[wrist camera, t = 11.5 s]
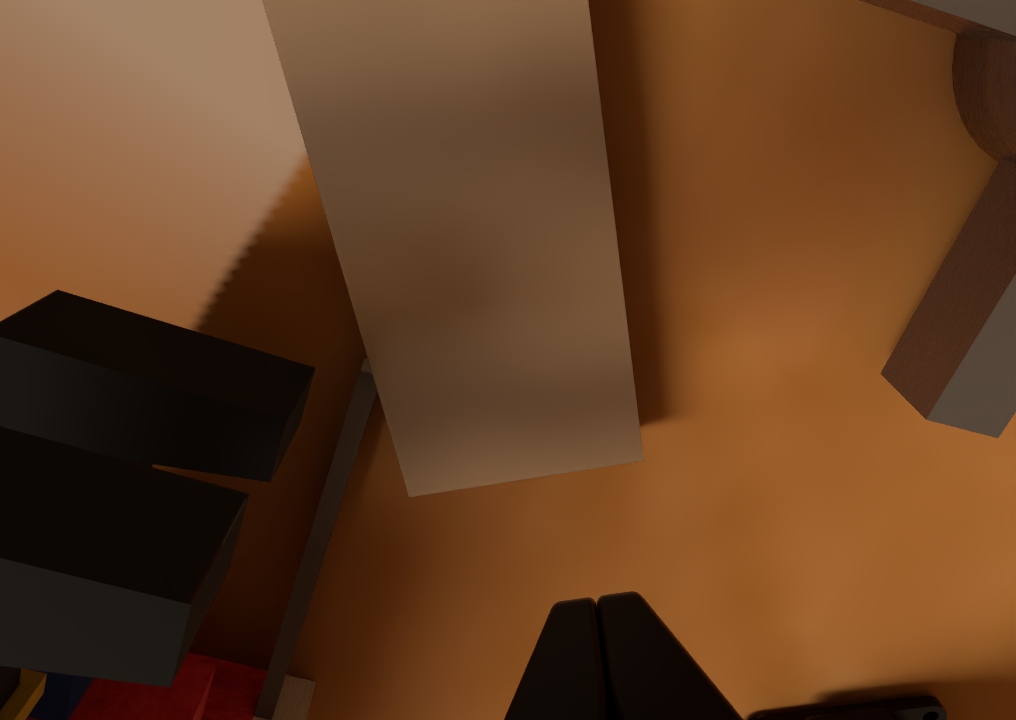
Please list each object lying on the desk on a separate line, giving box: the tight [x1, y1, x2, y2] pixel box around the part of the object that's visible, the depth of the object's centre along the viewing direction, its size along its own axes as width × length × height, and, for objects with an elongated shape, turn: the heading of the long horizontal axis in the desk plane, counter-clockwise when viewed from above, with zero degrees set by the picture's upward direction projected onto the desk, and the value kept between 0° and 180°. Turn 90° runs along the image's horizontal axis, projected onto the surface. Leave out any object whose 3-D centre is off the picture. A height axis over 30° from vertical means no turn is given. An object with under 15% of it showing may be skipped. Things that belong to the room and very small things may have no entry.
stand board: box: [262, 0, 644, 497], centre depth 15 cm, size 16×6×4 cm, turn 10°
